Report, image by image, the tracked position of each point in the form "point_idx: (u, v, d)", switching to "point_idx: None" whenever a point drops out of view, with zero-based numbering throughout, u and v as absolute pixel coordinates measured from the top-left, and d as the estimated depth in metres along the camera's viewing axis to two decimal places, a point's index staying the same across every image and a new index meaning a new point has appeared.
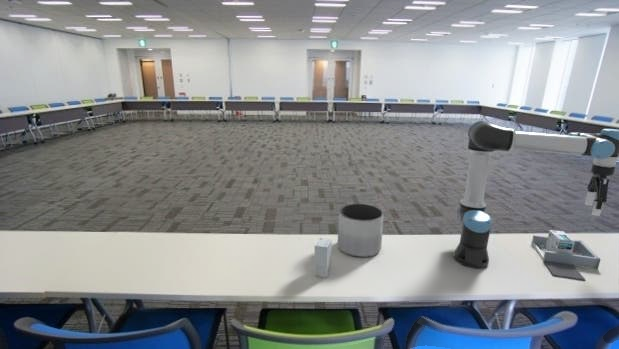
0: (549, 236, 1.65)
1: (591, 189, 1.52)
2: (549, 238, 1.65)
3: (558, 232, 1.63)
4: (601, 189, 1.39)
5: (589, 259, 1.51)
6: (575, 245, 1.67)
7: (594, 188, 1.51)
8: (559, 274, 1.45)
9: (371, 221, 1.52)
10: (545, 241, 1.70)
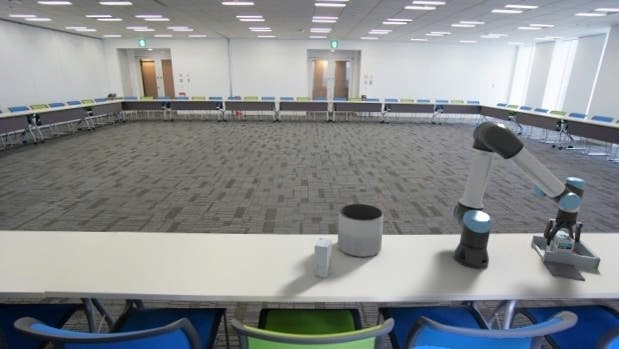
0: None
1: None
2: None
3: (558, 232, 1.63)
4: (546, 227, 1.62)
5: (589, 259, 1.51)
6: (575, 245, 1.67)
7: (570, 236, 1.59)
8: (559, 274, 1.45)
9: (371, 221, 1.52)
10: (545, 241, 1.70)
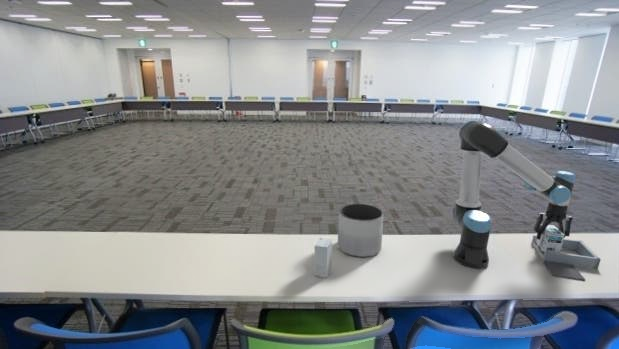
0: None
1: None
2: None
3: (548, 226, 1.63)
4: (537, 220, 1.62)
5: (589, 259, 1.51)
6: (575, 245, 1.67)
7: (560, 230, 1.59)
8: (559, 274, 1.45)
9: (371, 221, 1.52)
10: None
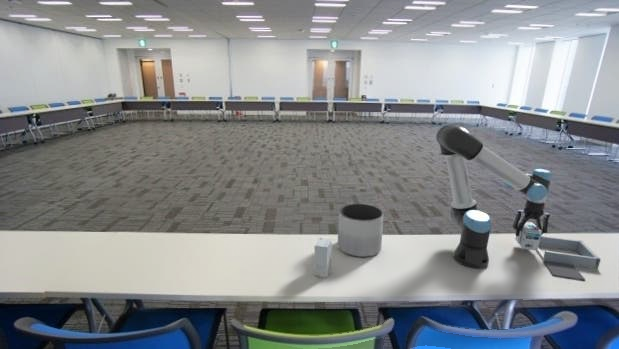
0: None
1: None
2: None
3: (527, 223, 1.66)
4: (515, 218, 1.65)
5: (589, 259, 1.51)
6: (575, 245, 1.67)
7: (538, 227, 1.62)
8: (559, 274, 1.45)
9: (371, 221, 1.52)
10: (545, 241, 1.70)
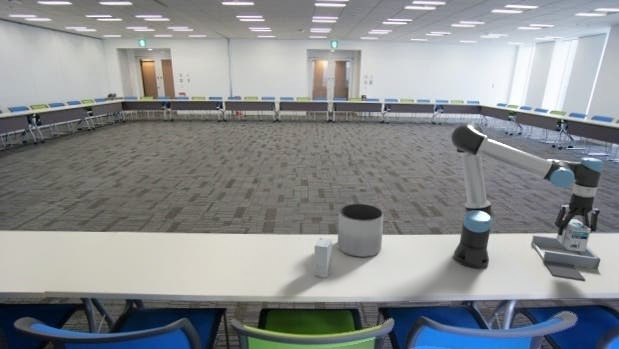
0: None
1: None
2: None
3: (571, 220, 1.45)
4: (558, 214, 1.44)
5: (589, 259, 1.51)
6: None
7: (585, 225, 1.41)
8: (559, 274, 1.45)
9: (371, 221, 1.52)
10: (545, 241, 1.70)
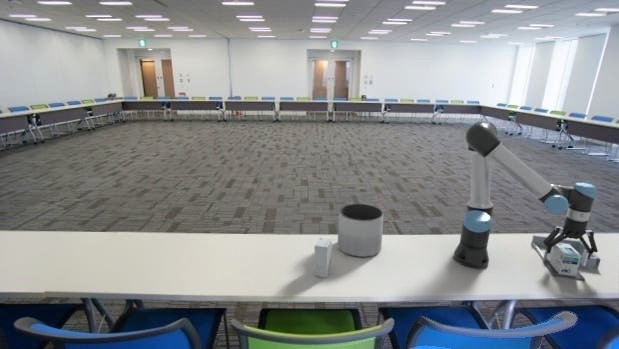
0: None
1: None
2: (553, 251, 1.51)
3: (563, 245, 1.49)
4: (550, 234, 1.47)
5: (589, 259, 1.51)
6: (575, 245, 1.67)
7: (585, 246, 1.44)
8: (559, 274, 1.45)
9: (371, 221, 1.52)
10: None
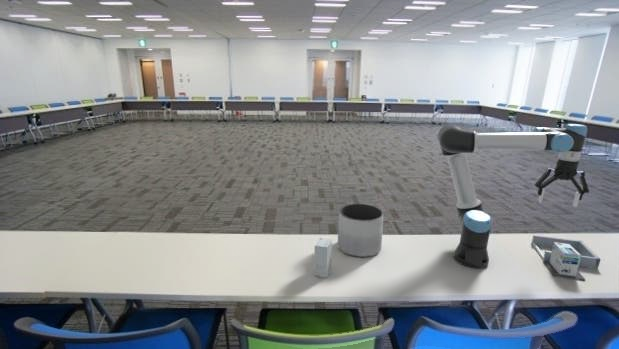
0: (553, 249, 1.51)
1: (577, 189, 1.47)
2: (553, 251, 1.51)
3: (563, 245, 1.49)
4: (542, 176, 1.51)
5: (589, 259, 1.51)
6: (575, 245, 1.67)
7: (576, 187, 1.47)
8: (559, 274, 1.45)
9: (371, 221, 1.52)
10: (545, 241, 1.70)
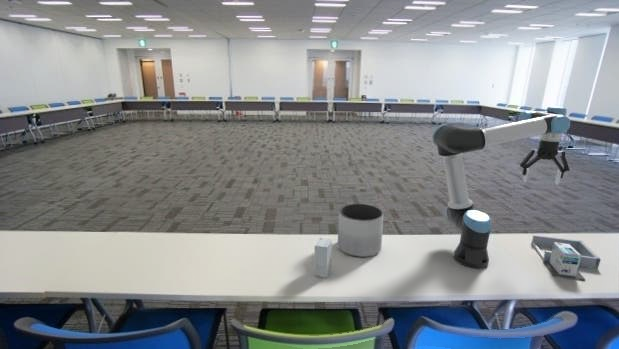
0: (553, 249, 1.51)
1: (559, 168, 1.57)
2: (553, 251, 1.51)
3: (563, 245, 1.49)
4: (526, 157, 1.60)
5: (589, 259, 1.51)
6: (575, 245, 1.67)
7: (558, 166, 1.57)
8: (559, 274, 1.45)
9: (371, 221, 1.52)
10: (545, 241, 1.70)
